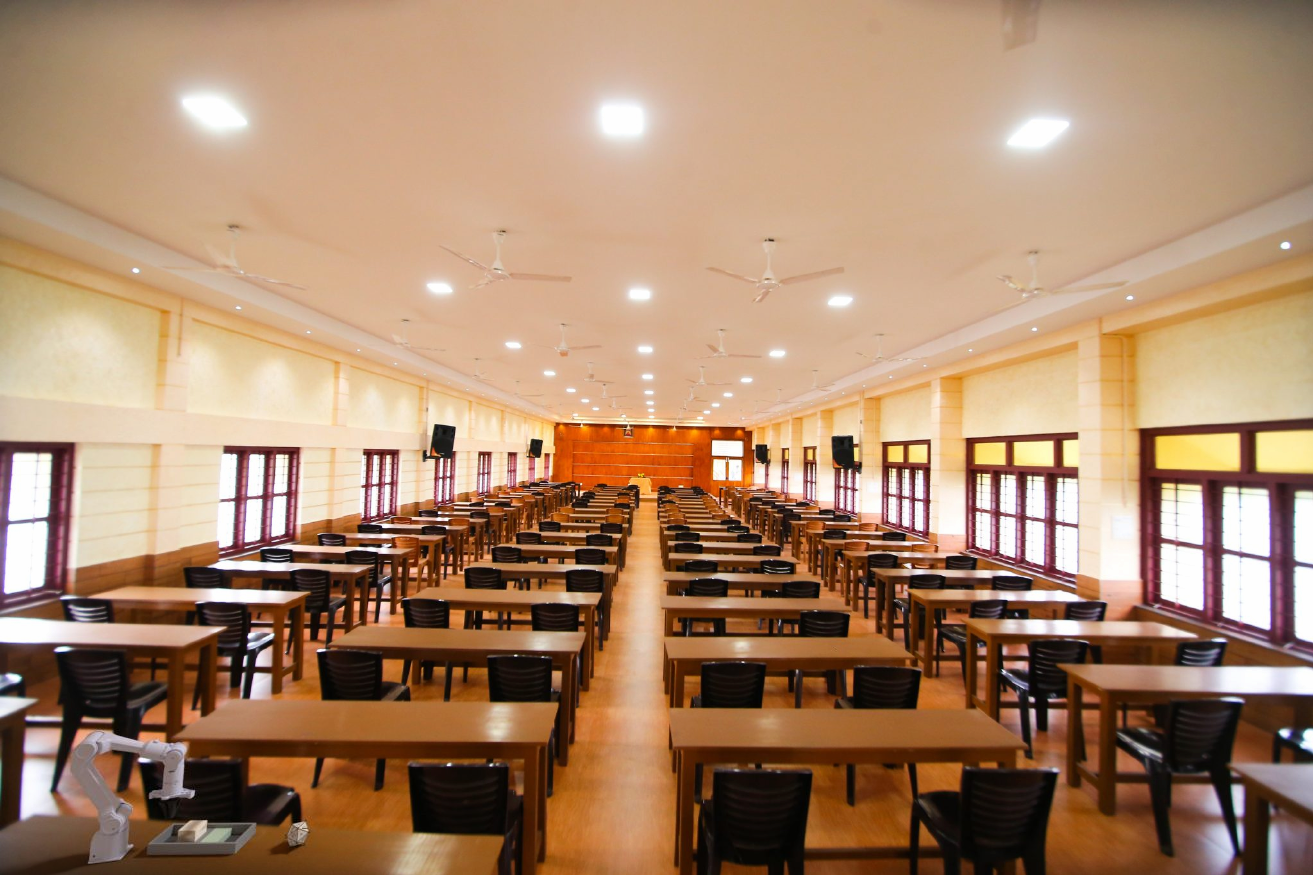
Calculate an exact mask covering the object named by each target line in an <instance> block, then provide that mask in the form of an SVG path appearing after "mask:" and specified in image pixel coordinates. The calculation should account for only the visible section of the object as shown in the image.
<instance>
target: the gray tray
mask: <svg viewBox="0 0 1313 875" xmlns="http://www.w3.org/2000/svg"><path fill="white" fill-rule="evenodd" d="M187 823H188V822H187ZM187 823H186V822H185V823H180V822H179V823H178V822H177V823H176V822H175V823H172V824H170V826H168V827H167V828H165V829H164V830H163V831H162V832H160V834H157V836H156V837H155V838H153V839H152V840H151V841H150V842H149V843H148V844H147V848H146V855H147V856H165V855H166V856H170V855H171V856H175V855H176V856H178V855H180V856H181V855H184V856H185V855H192V856H193V855H236V854H237V853H238V851H240V849H241V848H243V846H244V845H245V844H247V842H248V841H249V840H250V839H252V837H253V836H254V835H255V834H256V833H257V832H256V830H257V822H210V823H209V822H207V830H206V832H205V833H204V834H203V835H202V836H201V837H200V838H199V839H197V840H196V841H195V842H177V840H178V830H180V829H181V828H182V827H183V826H184V825H186V824H187ZM249 826H250V827H249ZM255 827H256V828H255ZM252 835H253V836H252Z"/></svg>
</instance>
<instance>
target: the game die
mask: <svg viewBox="0 0 1313 875" xmlns="http://www.w3.org/2000/svg"><path fill="white" fill-rule="evenodd" d="M307 821H308V818H306V819H305V820H304V821H301V822H299V821H298V822H296V823H292V822H290V827H289V829H288V831H287V834H285V835H284V839H286V840H287V843H288V845H289V846H288V848H287V849H288V850H289V849H290V848H291V847H294V846H298V845H299V846H300V845H302V844H303V846H306V843H305V842H306V840H307V838H308V836H309V833H311V832H312V831H311V830H308V829H302V828H309V826H308V823H307Z"/></svg>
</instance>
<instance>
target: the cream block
mask: <svg viewBox="0 0 1313 875" xmlns="http://www.w3.org/2000/svg"><path fill="white" fill-rule="evenodd" d="M207 823H208V820H207V819H206V820H199V819H198V820H196V819H195V820H189V821H188V822H187V824H186V825H184V826H183V827H182V828H181V829H180V830H178V840H177V842H195V841H196V840H197V839H199V838H200V837H201V836H202V835H203V834H204V833H205V832H206V830H207Z"/></svg>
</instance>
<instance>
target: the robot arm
mask: <svg viewBox="0 0 1313 875" xmlns="http://www.w3.org/2000/svg"><path fill="white" fill-rule="evenodd" d="M112 750H113V751H119V752H120V751H121V752H128V753H135V754H139V756H140V758H142V759H147V760H153V761H158V762H162V763H163V765H164V769H163V776H162V777H163V779H162V789H158V790H152V791H150V792H149V794H148V799H149V800H151V799H152V800H153V799H155V798H156V799H158V798H159V799H160V800H159V801H158V805H159V806H160V808H161V810H162V812H163V814H164V819H165V820H168V819H169V820H172V819H173V818H174V817H175V816H176V814H177V810H178V808H179V806H180V804H181V802H182V800H183V799H184V798H185V799H186V798H187V799H192V798H193V797H194V796H195V792H196V790H195V789H194V790H193V789H188V788H184V787H183V784H184V783H183V782H184V774H185V773H184V772H185V770H184V769H185V755H186V753H187V751H188V747H187V745H186V744H185V743H183V742H181V741H179V742H175V743H173V742H170V743H168V742H163V741H160V739H158V738H157V739H156V738H155V740H154V739H153V740H148V741H146V742H143V741H140V740H136V739H131V738H130V737H129V738H128V737H124V736H120V735H117V734H115V733H113V732H111V731H104V730H95V731H91V732H90V733H89V734H87V735H86V736H85V738H84V739H83V740H82V741H80V742H79V743H78V744H77V745H76V746H75V747H74V748H73V750H72V751H71V754H70V757H71V760H70V767H69V771H70V773H71V774H72V776H73V777H74V780H76V782H77V783H78V785H79V786H80V787H81V788H82V790H83V792H84V793H85V795H86V796H87V797H88V799H89V801H91V803H92V804H93V806H94V807H95V809H96V811H97V821H98V823H99V830H97V831H96V832H95V833H94V835H93V836H92V838H91V841H90V847H89V848H90V849H89V859H88V861H87V864H88V865H89V864H90V865H91V864H97V863H98V864H99V863H106V862H112V861H113V862H114V861H121V859H123V858H124V856H126V855H127V853H128V852H129V851H130V850H131V849H132V848H133V847H134V844H133V843H132V844H129V835H130V834H129V833H130V832H129V831H130V821H129V817H130V816H131V815H132V813H133V806H132V805H131V803H129V802H126V801H124V799H123V798H120V797H117V796H116V795H115V793H114V792H113V790H112V789H111V787H110V786H109V784H108V783H107V781H106V780H105V779H104V777H103V776H102V774H101V772H100V771H99V770H98V768H97V767H96V765H95V764H94V761H95V759H96V757H97V755H100V756H101V755H102V754H105V753H107V752H110V751H112Z"/></svg>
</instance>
